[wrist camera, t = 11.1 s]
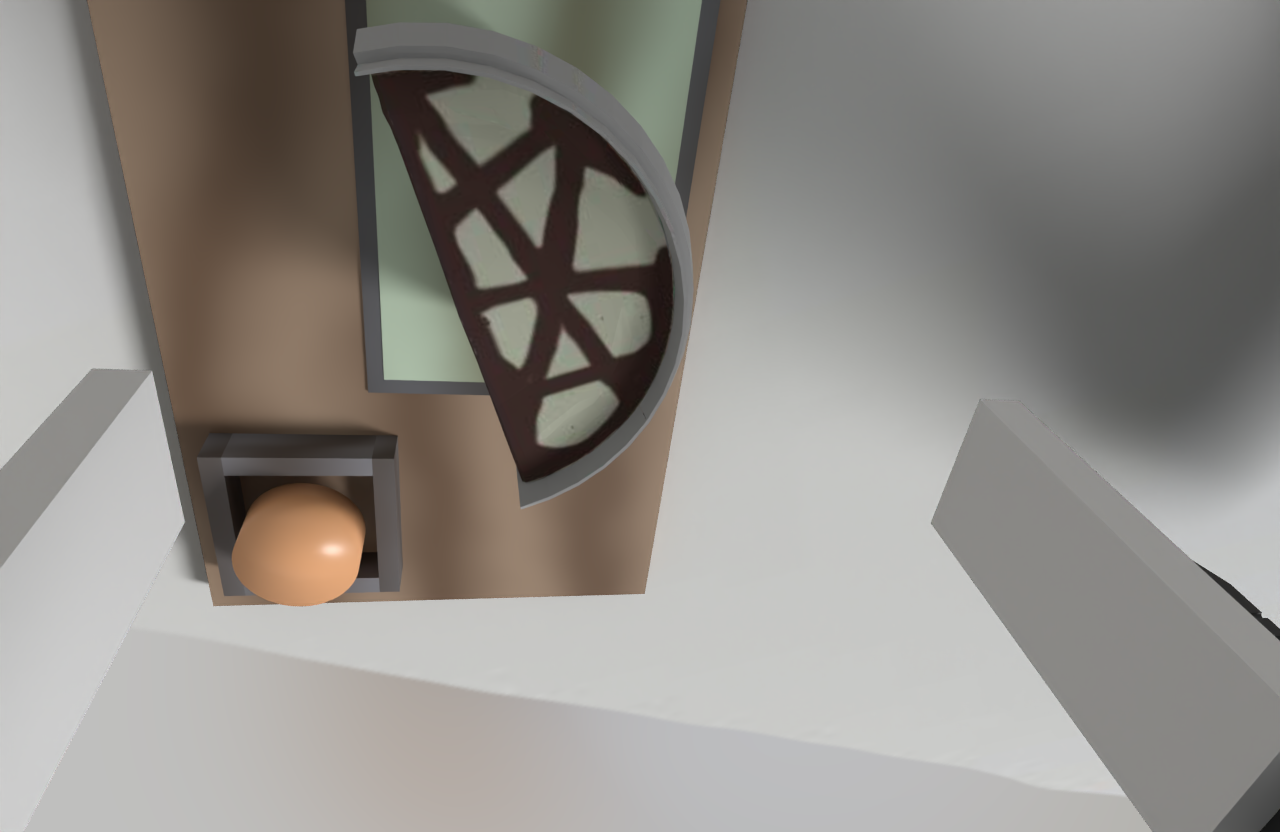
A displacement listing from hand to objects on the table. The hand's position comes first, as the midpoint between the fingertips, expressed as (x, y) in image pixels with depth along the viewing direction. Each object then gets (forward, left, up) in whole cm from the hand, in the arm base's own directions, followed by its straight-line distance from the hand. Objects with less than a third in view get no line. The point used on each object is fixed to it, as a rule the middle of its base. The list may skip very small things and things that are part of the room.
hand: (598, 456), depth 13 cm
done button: (+8, +14, -15) cm, 22 cm away
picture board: (+3, +5, -18) cm, 19 cm away
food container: (0, 0, -17) cm, 17 cm away
